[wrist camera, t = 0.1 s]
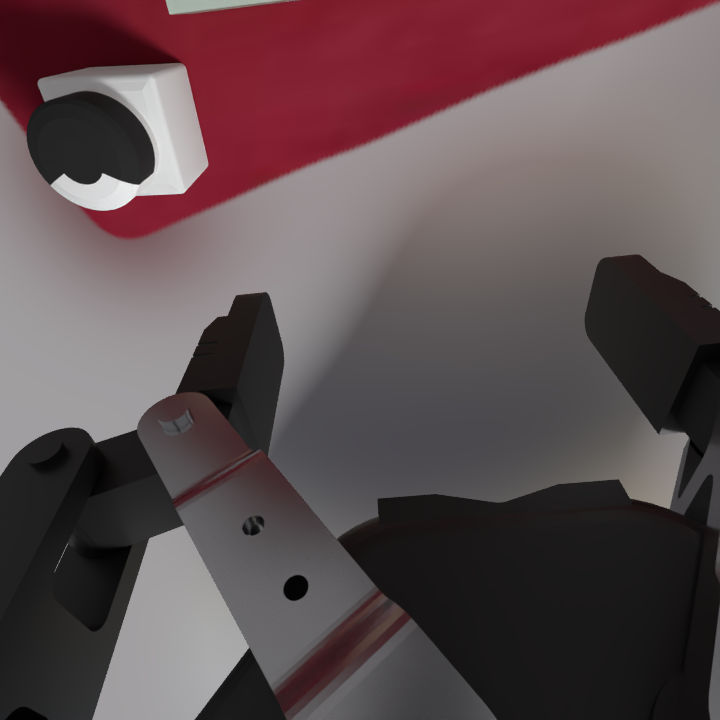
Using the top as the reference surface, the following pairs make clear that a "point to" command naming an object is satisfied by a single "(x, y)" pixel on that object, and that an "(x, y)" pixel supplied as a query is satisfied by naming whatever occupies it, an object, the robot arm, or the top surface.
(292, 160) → the top surface
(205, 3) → the open box
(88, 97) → the medicine bottle
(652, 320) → the robot arm
